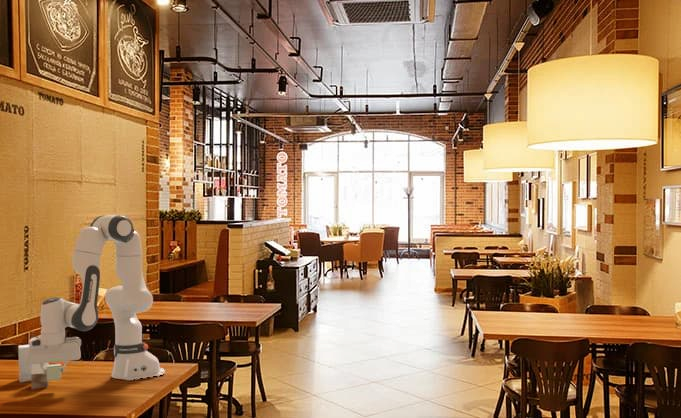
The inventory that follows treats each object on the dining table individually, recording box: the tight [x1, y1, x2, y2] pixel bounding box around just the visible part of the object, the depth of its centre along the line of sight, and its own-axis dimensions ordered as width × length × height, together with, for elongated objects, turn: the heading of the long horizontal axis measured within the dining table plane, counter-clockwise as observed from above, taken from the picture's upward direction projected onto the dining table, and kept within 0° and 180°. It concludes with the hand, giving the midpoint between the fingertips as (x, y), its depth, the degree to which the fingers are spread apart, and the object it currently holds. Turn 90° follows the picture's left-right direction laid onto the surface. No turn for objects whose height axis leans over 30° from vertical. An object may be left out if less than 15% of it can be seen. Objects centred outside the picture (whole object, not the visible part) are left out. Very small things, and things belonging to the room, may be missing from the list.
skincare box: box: [17, 344, 32, 383], centre depth 275 cm, size 8×6×15 cm
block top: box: [31, 363, 50, 374], centre depth 265 cm, size 6×6×6 cm
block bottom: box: [30, 374, 49, 390], centre depth 265 cm, size 6×6×6 cm
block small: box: [47, 363, 62, 382], centre depth 258 cm, size 5×5×5 cm
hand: (54, 372), depth 258 cm, fingers closed on block small, 5 cm apart
